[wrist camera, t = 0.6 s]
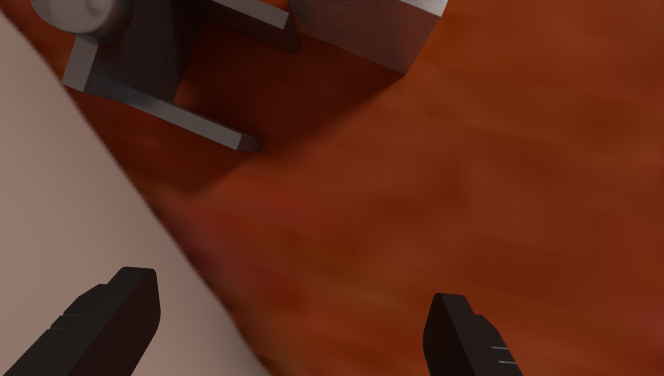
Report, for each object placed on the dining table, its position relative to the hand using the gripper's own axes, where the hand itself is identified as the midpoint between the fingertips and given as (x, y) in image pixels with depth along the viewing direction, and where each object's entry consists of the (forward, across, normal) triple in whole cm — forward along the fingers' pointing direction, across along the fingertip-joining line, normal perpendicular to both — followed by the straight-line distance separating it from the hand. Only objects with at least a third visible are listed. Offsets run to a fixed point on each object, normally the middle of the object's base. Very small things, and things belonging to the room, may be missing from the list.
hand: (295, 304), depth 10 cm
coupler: (+25, +10, -3) cm, 27 cm away
